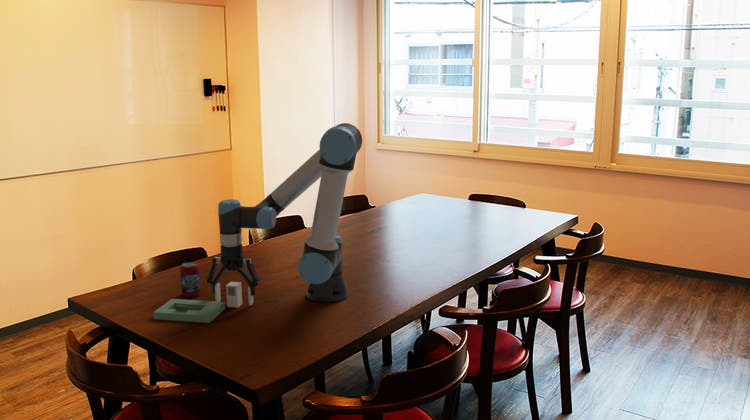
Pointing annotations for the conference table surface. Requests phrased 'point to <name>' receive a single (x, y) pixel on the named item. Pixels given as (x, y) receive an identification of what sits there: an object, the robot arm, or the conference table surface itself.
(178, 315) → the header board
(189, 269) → the beverage can
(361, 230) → the conference table surface
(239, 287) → the plug
